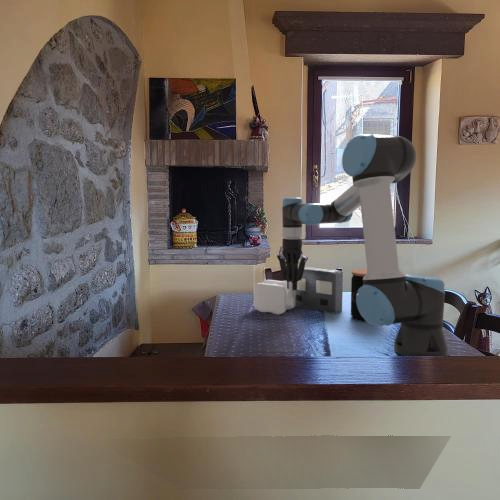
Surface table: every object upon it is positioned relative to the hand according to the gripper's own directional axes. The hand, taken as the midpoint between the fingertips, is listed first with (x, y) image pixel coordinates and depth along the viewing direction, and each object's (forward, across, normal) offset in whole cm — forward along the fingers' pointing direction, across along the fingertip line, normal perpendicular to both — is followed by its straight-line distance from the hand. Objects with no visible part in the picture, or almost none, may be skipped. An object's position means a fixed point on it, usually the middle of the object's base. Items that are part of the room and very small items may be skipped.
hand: (292, 297), depth 175 cm
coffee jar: (+7, -25, -12) cm, 29 cm away
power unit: (+7, -2, -14) cm, 15 cm away
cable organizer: (+7, +9, -1) cm, 12 cm away
